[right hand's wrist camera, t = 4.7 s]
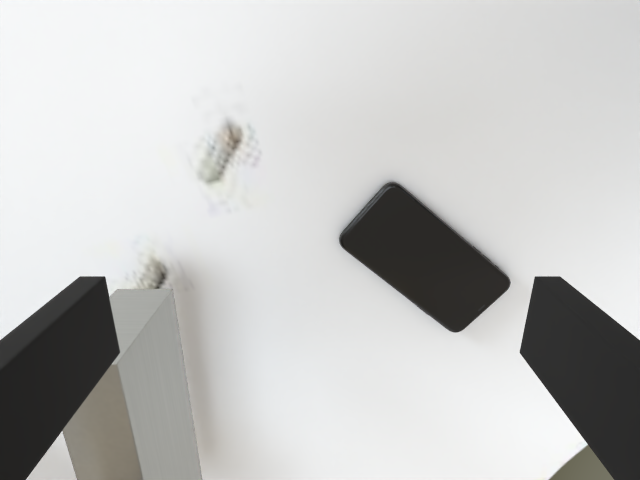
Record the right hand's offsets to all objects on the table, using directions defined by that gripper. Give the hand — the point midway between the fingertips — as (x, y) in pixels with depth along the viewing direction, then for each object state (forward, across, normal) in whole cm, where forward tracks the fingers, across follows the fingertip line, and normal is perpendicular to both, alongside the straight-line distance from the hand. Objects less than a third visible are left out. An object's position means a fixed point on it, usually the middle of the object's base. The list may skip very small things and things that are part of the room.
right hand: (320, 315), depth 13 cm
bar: (+18, -14, -21) cm, 31 cm away
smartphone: (+25, +10, -9) cm, 29 cm away
